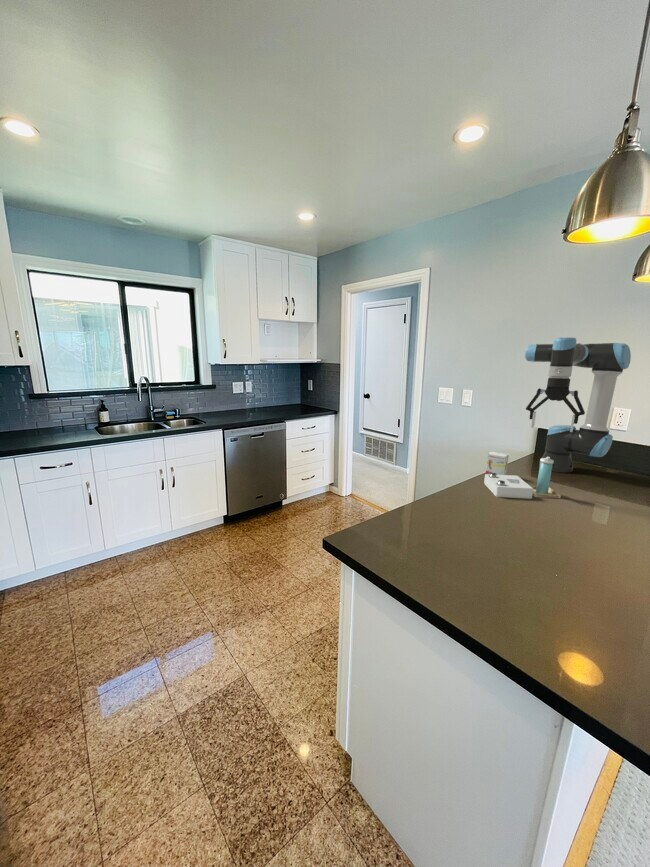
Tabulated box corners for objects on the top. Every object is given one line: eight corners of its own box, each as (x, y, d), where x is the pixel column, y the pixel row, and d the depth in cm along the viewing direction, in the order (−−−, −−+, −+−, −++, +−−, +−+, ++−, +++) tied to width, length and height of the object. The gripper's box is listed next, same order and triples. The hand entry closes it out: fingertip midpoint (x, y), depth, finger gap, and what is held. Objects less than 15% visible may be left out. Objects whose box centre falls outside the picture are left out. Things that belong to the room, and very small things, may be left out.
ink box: (484, 476, 174) (487, 453, 171) (487, 473, 177) (490, 451, 175) (503, 480, 168) (506, 456, 166) (505, 477, 172) (508, 454, 169)
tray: (524, 489, 156) (524, 485, 156) (548, 490, 155) (548, 486, 155) (534, 498, 147) (535, 494, 146) (560, 499, 145) (560, 495, 145)
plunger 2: (495, 491, 150) (497, 480, 149) (502, 492, 150) (503, 480, 149) (498, 494, 148) (499, 482, 147) (504, 494, 148) (506, 482, 146)
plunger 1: (488, 483, 160) (489, 472, 159) (494, 483, 160) (495, 472, 159) (490, 485, 158) (491, 474, 156) (496, 485, 157) (497, 474, 156)
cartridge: (533, 492, 151) (539, 457, 147) (537, 490, 154) (542, 455, 151) (546, 496, 147) (552, 460, 144) (549, 493, 151) (555, 458, 147)
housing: (483, 484, 162) (485, 474, 161) (515, 486, 160) (517, 475, 159) (496, 498, 147) (497, 486, 145) (531, 499, 145) (533, 488, 144)
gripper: (522, 376, 144) (516, 426, 149) (598, 379, 130) (588, 435, 134) (525, 375, 150) (519, 424, 155) (598, 378, 136) (588, 431, 140)
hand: (551, 429), depth 145 cm, fingers open, 13 cm apart
